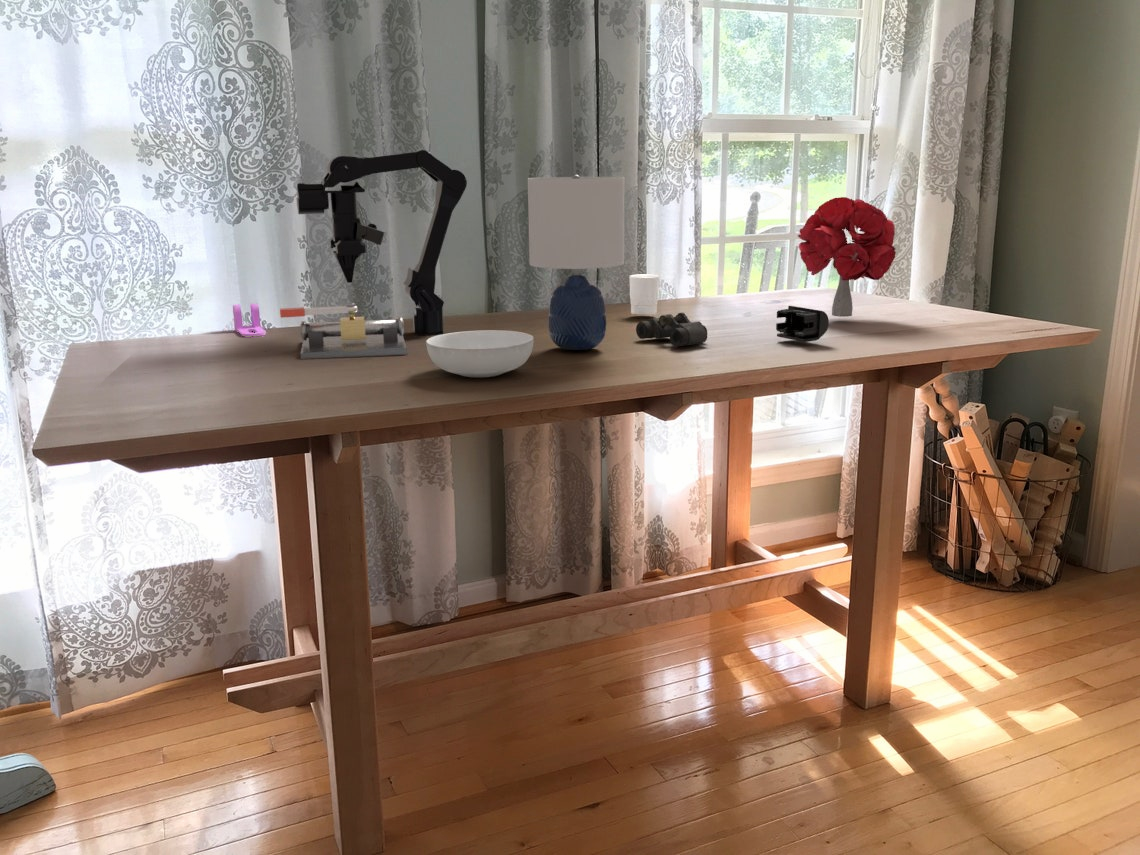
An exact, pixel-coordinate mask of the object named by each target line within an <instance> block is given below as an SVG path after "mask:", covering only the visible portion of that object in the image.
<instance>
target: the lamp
mask: <svg viewBox="0 0 1140 855" xmlns="http://www.w3.org/2000/svg"><path fill="white" fill-rule="evenodd" d="M527 201H528V202H527V203H528V206H527V207H528V209H527V210H528V252H529V254H528V256H529V266H531V267H533V268H535V267H536V268H540V269H541V268H543V269H553V270H555V269H557V270H571V273H570V275H567V278H566V280H565V282H564V283H563V284H560V285H559V286H558V287H556V288H555V289H554V290H553V292H552V295H551V298H550V300H549V308H548V318H547V319H548V320H547V321H548V322H547V323H548V326H547V327H548V332H549V337H550V339H551V341H552V342H553V343H554V344H555V346H557V347H558V348H559V349H563V350H568V351H572V350H573V351H575V350H576V351H581V350H582V351H586V350H591V349H594V348H596V347H598V346H600V344H602V342H603V340H604V338H605V337H606V331H607V314H606V306H605V305H606V304H605V299H604V296H603V294H602V291H601V290H600V289H599V288H598V287H597V286H596V285H593V284H591V283H590V282H589V280H588V278H587V276H586V275H585V274H583V271H582V270H585V269H587V270H589V269H591V270H592V269H606V268H614V267H620V266H623V265H624V264H625V176H579V175H578V174H574V175H573V176H555V177H553V176H551V177H548V176H547V177H528V178H527Z"/></svg>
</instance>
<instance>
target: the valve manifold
mask: <svg viewBox="0 0 1140 855" xmlns="http://www.w3.org/2000/svg"><path fill="white" fill-rule="evenodd" d="M355 313H356V312H354V313H348V317H347V316H346V317H339V321H328V322H306V320H301V322H300V335H301V339H302V345H301V350H300V359H301V360H308V359H309V360H310V359H312V360H313V359H332V358H333V359H336V358H339V359H340V358H359V357H361V358H363V357H387V356H388V357H389V356H406V355H408V347H407V344H406V341H405V338H404V333H405V327H404V326H405V325H404V318H403V317H402V316H398V317H397V318H396V319H395V318H393V319H376V320H375V319H374V320H372V319H371V320H365V316H355V315H356V314H355Z"/></svg>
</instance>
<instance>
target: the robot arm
mask: <svg viewBox="0 0 1140 855" xmlns="http://www.w3.org/2000/svg"><path fill="white" fill-rule="evenodd" d="M412 169H420V170H422V171H423V172H424V173H425V174H426V175H427V176H428V177H429V178H430V179H432V180H433V181H434V182H435V183H436V184H435V185H436V186H435V204H434V209H433V213H432V216H431V220H430V222H429V227H428V230H427V233H426V236H425V239H424V243H423V246H422V249H421V250H422V251H421V254H420V256H419V260H418V263H417V264H416V265H415V268H414V269H413V268H411V267H408V268H407V274H406V275H407V276H406V278H405V280H404V282H403V285H404V286H405V287H404V288H405V289H404V291H405V294H406V296H407V297H408V298H409V299H410V300H411V301H412V302H413V303H414V305H415V308H414V310H415V313H414V314H412V319H413V320H412V321H413V331H414V334H416V333H417V334H416V335H418V336H417V337H419V336H420V337H421V336H438V335H442V334H446V333H445V331H444V319H443V318H444V317H443V313H444V312H443V307H444V303H445V301H444V300H443V299H442V298H441V297H439V296H438V295H437V294H436V293H435V288H436V268H437V265H438V262H439V258H440V255H441V251H442V248H443V244H444V241H445V238H446V234H447V231H448V228H449V224H450V220H451V218H452V215H453V211H454V210H455V208H456V207H457V205H458V203H459V202H460V200H461V199H462V196H463V195H464V193H465V190H466V189H467V185H468V180H467V178H466V176H465V174H464V173H463V172H462V171H461V170H457V169H452V168H450V167H449V166H448V165H446V163H443V161H440V160H439V159H438V158H437V157H435V156H434V155H432V153H431V152H430V151H428V150H427V149H419V150H416V151H411V152H403V153H401V152H400V153H395V154H389V155H387V154H386V155H380V156H379V155H378V156H372V157H365V156H363V157H362V156H345V155H342V156H341V155H340V156H339V155H338V156H334V157H332V158H331V159H330V160H329V162H328V164H327V173H326V175H325V176H324V177H323V179H321V182H320V183H304V182H298V183H296V198H295V199H296V210H297V213H298V215H323V214H325V211H327V210H329V208H330V204H331V218H330V219H331V224H332V233H333V234H332V236H330V238H329V239H328V242H329V244H328V245H329V248H330V249H334V248H335V250H333V251H332V253H333V255H334V258H335V260H336V262H337V264H338V266H339V268H340V270H341V272H342V275H343V277H344V278H345V281H346V283H349V284H350V283H353V278H354V272H355V266H356V261H357V259H358V258H359V257H360V256H362V254H366V253H367V249H366V247H367V246H366V243H364V242H363V240H365V241H368V242H371V243H374V244H375V245H377V246H378V245H379V246H382V242H383V240H384V236H385V231H382V230H381V229H378V228H377V224H375V223H371V222H369V223H368V224H366V225H365V224H362V220H361V218H359V214H358V201H357V193H365V192H366V190H365V189H364V187H362V186H361V185H360V183H359V182H358V181H356V180H359V179H362V178H364V177H368V176H370V175H374V174H379V173H389V172H395V171H402V170H403V171H404V170H412ZM352 181H355V182H354V183H353V184H350V185H349V184H345V185H344V184H342V185H339V189H330V190H326V188H334V187H336V186H337V185H338V184H340V183H350V182H352ZM329 194H330V202H329Z"/></svg>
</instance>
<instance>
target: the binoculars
mask: <svg viewBox="0 0 1140 855" xmlns="http://www.w3.org/2000/svg"><path fill="white" fill-rule="evenodd" d="M635 332H636V335H637V337H638V339H640V340H644V339H657V340H659V339H664V338H665V339H666V338H669V342H670V343H671V345H672V346H673V347H684V346H691V345H697V344H704V343H706V341H707V340H708V329H707V327H706V326H705V325H704V324H702V322H701V321H690V319H689V318H688V316H687V315H686V314H685V312H679V313H677V314H676V315H675V316H673V315H672V314H671V313H667V314H662V315H660V316H659V317H657V318H656V317H655V318H650V319H646V320H645V321H640V322H638V323H637V325H636V326H635Z"/></svg>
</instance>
